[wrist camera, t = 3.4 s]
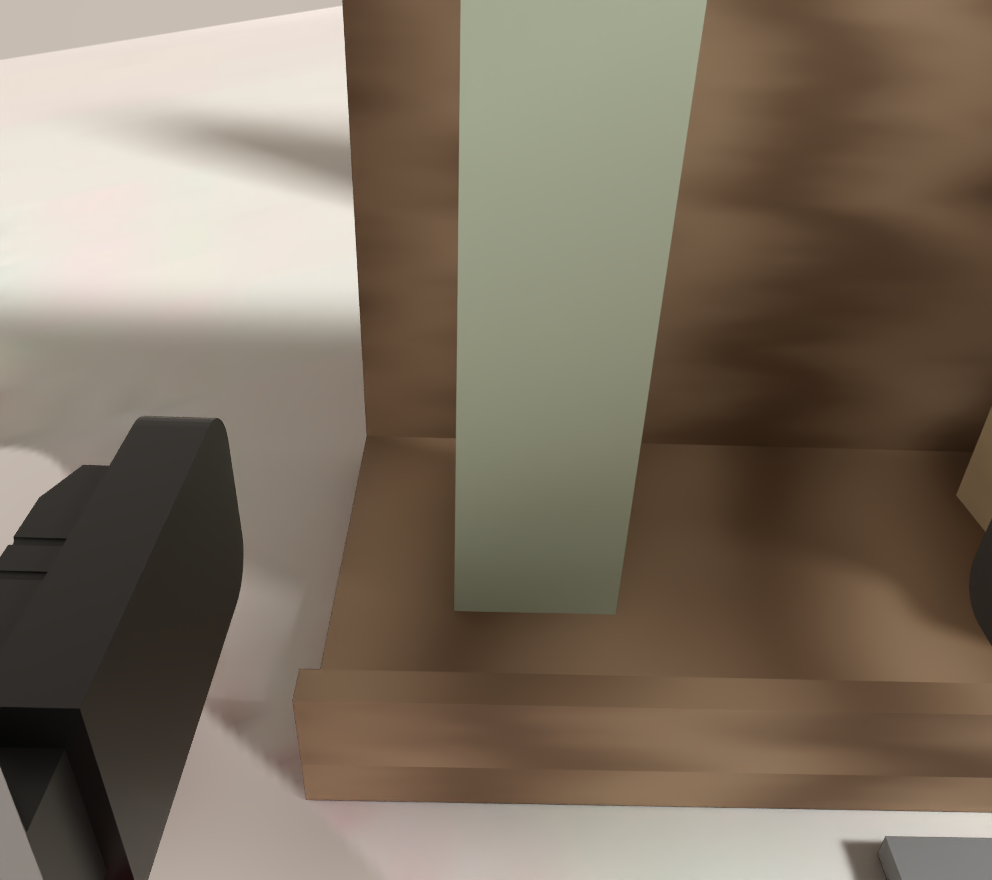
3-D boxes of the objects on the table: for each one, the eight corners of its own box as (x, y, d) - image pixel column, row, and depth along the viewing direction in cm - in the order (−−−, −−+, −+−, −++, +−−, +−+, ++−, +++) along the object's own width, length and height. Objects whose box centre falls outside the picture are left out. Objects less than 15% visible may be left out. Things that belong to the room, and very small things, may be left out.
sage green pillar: (596, 490, 27) (683, -224, 17) (615, 614, 23) (740, -230, 13) (459, 487, 27) (470, -233, 17) (453, 610, 23) (463, -242, 13)
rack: (1090, 467, 31) (1410, -179, 21) (1404, 819, 20) (2380, -154, 10) (371, 448, 31) (336, -223, 20) (306, 799, 20) (161, -245, 10)
